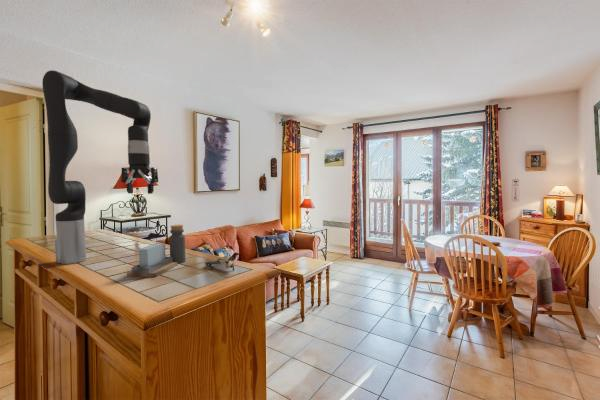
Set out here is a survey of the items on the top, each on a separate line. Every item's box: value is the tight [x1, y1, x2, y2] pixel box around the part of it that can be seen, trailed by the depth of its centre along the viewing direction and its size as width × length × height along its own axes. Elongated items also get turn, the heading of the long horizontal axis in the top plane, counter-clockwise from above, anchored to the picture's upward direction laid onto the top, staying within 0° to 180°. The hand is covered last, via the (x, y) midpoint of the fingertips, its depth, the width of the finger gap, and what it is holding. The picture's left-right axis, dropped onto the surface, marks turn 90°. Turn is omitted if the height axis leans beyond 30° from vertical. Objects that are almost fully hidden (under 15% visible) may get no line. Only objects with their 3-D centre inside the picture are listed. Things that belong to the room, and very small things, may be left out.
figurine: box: [205, 252, 240, 272], centre depth 113 cm, size 6×4×15 cm
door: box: [138, 242, 167, 267], centre depth 110 cm, size 3×11×8 cm, turn 174°
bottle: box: [169, 224, 187, 265], centre depth 122 cm, size 6×6×15 cm
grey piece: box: [126, 256, 178, 278], centre depth 111 cm, size 11×15×3 cm
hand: (140, 193), depth 120 cm, fingers open, 8 cm apart
